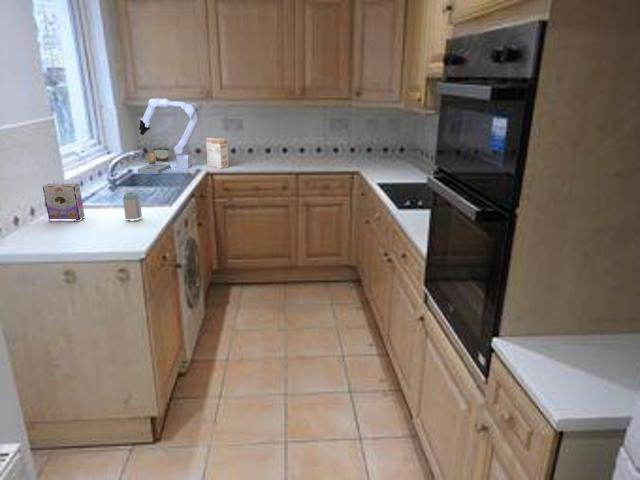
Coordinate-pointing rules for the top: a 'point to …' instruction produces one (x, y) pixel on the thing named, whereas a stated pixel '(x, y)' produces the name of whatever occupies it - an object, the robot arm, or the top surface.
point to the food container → (161, 154)
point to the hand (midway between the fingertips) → (141, 132)
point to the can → (132, 206)
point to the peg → (151, 158)
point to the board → (153, 168)
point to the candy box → (63, 201)
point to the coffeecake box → (217, 152)
